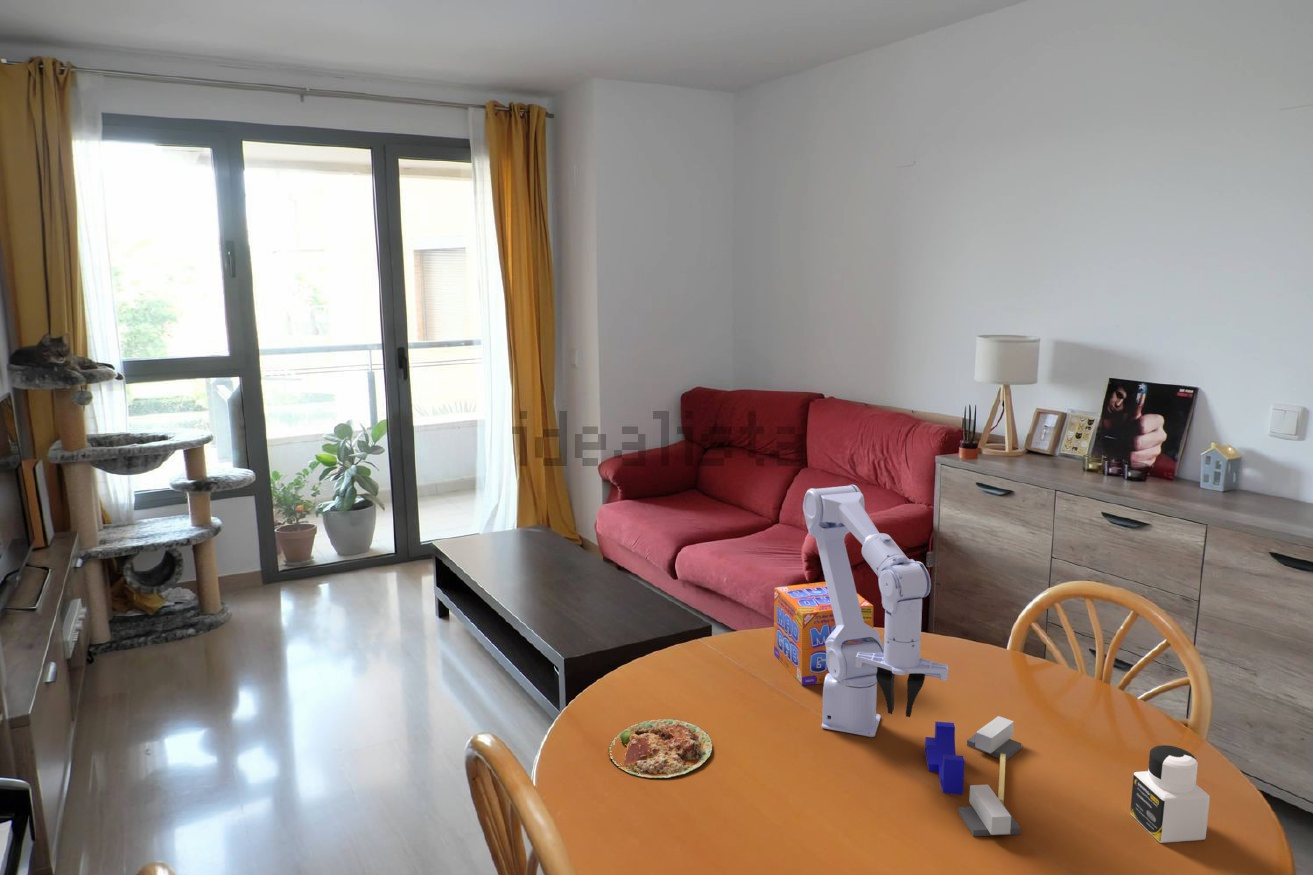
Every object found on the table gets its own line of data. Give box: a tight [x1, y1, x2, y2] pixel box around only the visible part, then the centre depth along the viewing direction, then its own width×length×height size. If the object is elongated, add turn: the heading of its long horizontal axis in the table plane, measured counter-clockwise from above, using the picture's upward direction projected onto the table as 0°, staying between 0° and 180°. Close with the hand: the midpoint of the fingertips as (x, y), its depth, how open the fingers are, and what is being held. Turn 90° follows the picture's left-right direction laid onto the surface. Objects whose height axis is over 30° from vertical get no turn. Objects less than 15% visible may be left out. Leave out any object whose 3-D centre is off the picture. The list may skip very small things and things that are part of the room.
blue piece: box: [924, 721, 965, 796], centre depth 143 cm, size 12×4×6 cm, turn 169°
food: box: [608, 718, 713, 779], centre depth 152 cm, size 18×17×3 cm
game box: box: [773, 581, 875, 687], centre depth 182 cm, size 16×16×16 cm
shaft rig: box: [958, 715, 1022, 837], centre depth 140 cm, size 9×31×4 cm, turn 157°
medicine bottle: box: [1129, 744, 1211, 844], centre depth 128 cm, size 7×7×12 cm
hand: (899, 712), depth 144 cm, fingers open, 2 cm apart
